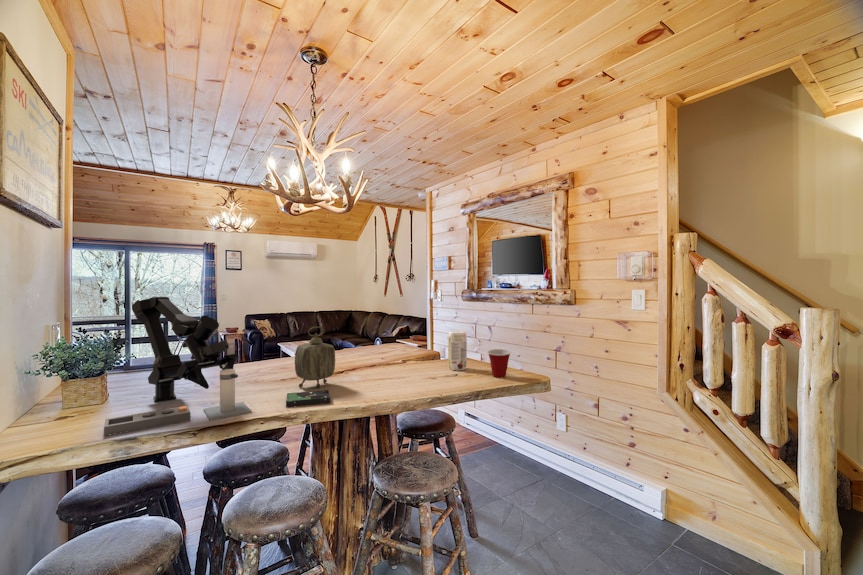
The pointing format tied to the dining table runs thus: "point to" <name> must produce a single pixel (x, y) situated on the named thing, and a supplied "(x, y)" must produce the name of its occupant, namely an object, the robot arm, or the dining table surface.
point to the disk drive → (307, 398)
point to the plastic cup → (499, 362)
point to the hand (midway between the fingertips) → (221, 384)
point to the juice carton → (457, 350)
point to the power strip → (146, 420)
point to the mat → (217, 414)
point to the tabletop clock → (314, 360)
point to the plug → (227, 390)
